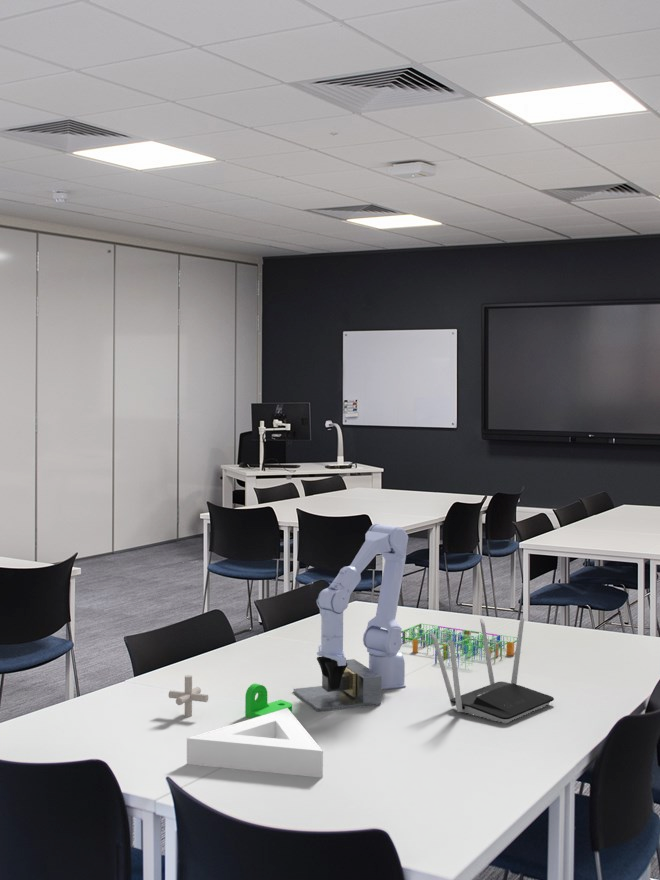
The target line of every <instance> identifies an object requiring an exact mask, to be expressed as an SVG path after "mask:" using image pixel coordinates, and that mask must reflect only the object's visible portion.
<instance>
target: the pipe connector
mask: <svg viewBox="0 0 660 880" xmlns="http://www.w3.org/2000/svg"><path fill="white" fill-rule="evenodd" d="M201 692H202V690H201V687H200V686H196V687H194V688H193V675H191V674H190V675H189V674H186V675H184V691H179V690H177V691H176V690H169V692H168V698H169V699H175V703H176V705H177V706H182V705H183V704H184V717H185V718H190V717H192V716H193V701H194V702H199V703H200V702H202V703H207V702H208V701H209V694H203V693H201Z"/></svg>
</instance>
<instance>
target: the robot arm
mask: <svg viewBox="0 0 660 880" xmlns="http://www.w3.org/2000/svg"><path fill="white" fill-rule="evenodd" d="M364 535H365V541H364V542H363V543H362V545H361V547H360V549H359V551H358V552H357V554H356V555H355V557H354V559H353V560H352V562H351V563H350V565H348V566H343V567H342V568H340V570H339V572H338V574H337V576H336V577H335V578H334V579H333V581H332V582H331V583H330V585H329V586H328V587H326V588H324V589H322V590H321V591H320V592H319V593H318V597H317V599H316V605H317V607H318V608H319V615H320V617H321V622H320V623H321V625H320V629H321V630H320V631H321V632H320V633H321V635H320V639H321V640H320V644H319V645H318V651H317V652H316V655H317V657H316V660H317V662H318V664H319V667H320V671H321V675H322V674H329V681H330V687H331V689H332V690H333V689H339V687H340V683H341V679H342V676H343V673H344V671H345V669H346V667H347V663H346V660H347V657H345V652H344V611H345V610H346V609H348V607H349V602H350V598H351V594H352V593H353V591H354V590H355V588H357V586H358V585H359V583H360V582H361V580H362V576H361V573H362V572H363V571H364V570H365V569H366V567H367V566H368V565H369V564H370V563H371V562H372V560H373V559H374V558H375V557H376V555H377V554H381V555H382V557H383V559H384V566H383V573H382V578H381V584H380V590H379V595H378V596H379V597H378V600H377V601H378V602H377V607H376V611H375V616H374V617H373V618H371V619H370V620H368V621H367V626H366V629H365V631H364V633H363V637H362V642H363V645H364V647H365V648H366V652H367V653H368V668H369V669H370V670H372V671H374V672H375V673H377V674H378V675H380V676H381V690H387V689H388V690H389V689H397V688H398V689H399V688H405V687H406V684H405V674H406V673H405V671H406V670H405V668H406V666H405V662H406V661H405V658H404V655H403V654H402V652H400V650H401V647H402V639H401V637H402V633H401V631H403V629H402V627H401V625H400V624H399V623H398V621H397V620H396V618H397V617H396V616H397V612H398V604H399V599H400V594H401V587H402V582H403V576H404V571H405V564H406V560H407V550H408V549H407V547H408V542H409V535H408V534H407V532H406V530H405V529H404V528H403V527H401V526H393V525H387V524H386V525H384V524H380V523H374V524H372V525H371V526H370V527H369V528H368V530H367V531H366V533H365V534H364Z"/></svg>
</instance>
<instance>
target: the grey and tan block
mask: <svg viewBox="0 0 660 880" xmlns="http://www.w3.org/2000/svg"><path fill="white" fill-rule="evenodd" d="M321 678H322V679H321V680H322V682H321V686H322V688H323V689H324V690H326V691H327V692H332V691H341V690H344V691H345V692H347V693H348V694H349V695H351V696H352V697H356V673H354V672H353V671H351V670H350V669H348V668H347V667H346V669H345V671H344V673H343V676H342V679H341V683H340V687H339V689H333V690H332V689H331V687H330V681H329V674H322V673H321Z"/></svg>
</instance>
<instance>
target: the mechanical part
mask: <svg viewBox="0 0 660 880" xmlns="http://www.w3.org/2000/svg"><path fill="white" fill-rule="evenodd" d="M256 695H257V697H256ZM244 696H245V697H244V698H245V701H244V702H245V703H244V705H245V706H244V708H245V709H244V713H245V717H246V718H249V719H252V718H256V717H259V716H262V715H266V714H269V713H272V712H276V711H279V710H282V709H285V708H288V709H289V710H290V711H291V713H293V703H292V702H289V701H287V700H283V699H278V700H275V701H271V702H268V689H267V688H266V687H265V685H263V684H259V683H256V682H255V683H252V684H250V686H248V688H247V689H246V692H245V695H244Z"/></svg>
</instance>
